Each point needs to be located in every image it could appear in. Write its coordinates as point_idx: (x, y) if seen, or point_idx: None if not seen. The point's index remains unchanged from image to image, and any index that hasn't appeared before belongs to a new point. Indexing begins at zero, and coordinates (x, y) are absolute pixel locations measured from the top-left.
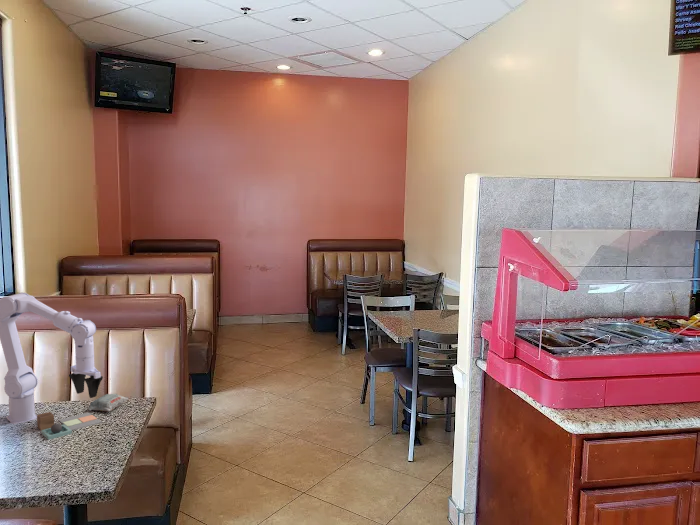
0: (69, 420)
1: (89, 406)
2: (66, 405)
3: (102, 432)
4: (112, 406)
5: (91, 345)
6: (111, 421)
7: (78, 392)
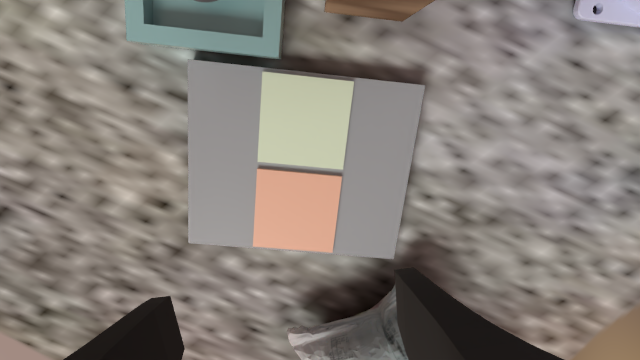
0: (358, 128)
1: None
2: (634, 234)
3: (65, 185)
4: None
5: None
6: (196, 285)
7: (397, 282)
